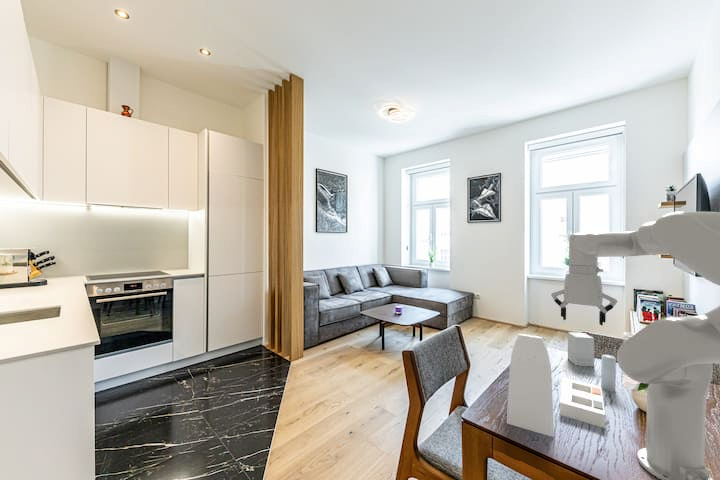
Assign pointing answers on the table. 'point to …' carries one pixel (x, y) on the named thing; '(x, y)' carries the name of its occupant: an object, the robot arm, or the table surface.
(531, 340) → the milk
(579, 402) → the socket block
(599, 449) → the table surface
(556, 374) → the table surface
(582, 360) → the supplement box
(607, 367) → the plug
